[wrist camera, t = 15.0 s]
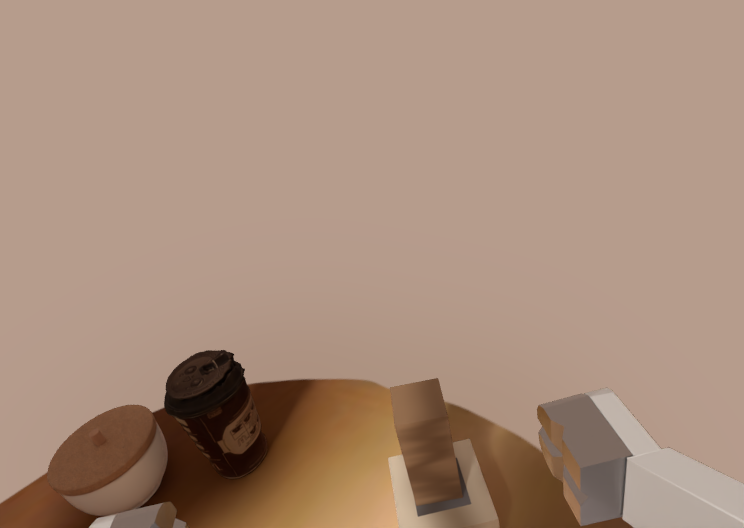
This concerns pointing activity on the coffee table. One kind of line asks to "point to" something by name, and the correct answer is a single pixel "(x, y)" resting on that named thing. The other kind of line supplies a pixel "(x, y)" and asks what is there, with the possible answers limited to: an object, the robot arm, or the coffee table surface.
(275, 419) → the coffee table surface
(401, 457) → the birch plinth
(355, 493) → the coffee table surface
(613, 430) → the robot arm
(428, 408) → the walnut pillar
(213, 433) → the coffee cup
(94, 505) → the lidded jar
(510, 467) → the coffee table surface
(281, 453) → the coffee table surface
